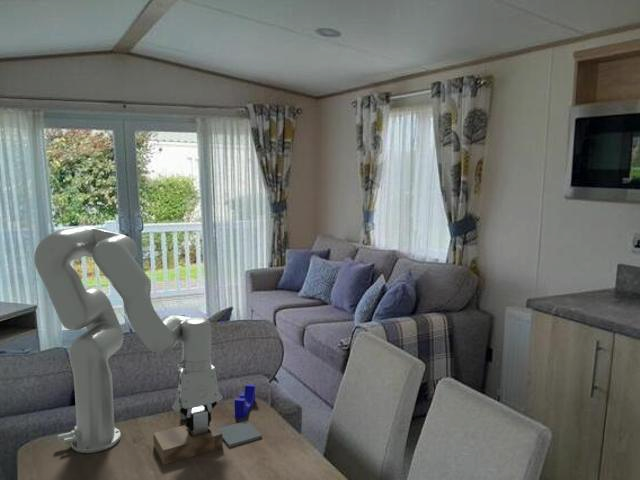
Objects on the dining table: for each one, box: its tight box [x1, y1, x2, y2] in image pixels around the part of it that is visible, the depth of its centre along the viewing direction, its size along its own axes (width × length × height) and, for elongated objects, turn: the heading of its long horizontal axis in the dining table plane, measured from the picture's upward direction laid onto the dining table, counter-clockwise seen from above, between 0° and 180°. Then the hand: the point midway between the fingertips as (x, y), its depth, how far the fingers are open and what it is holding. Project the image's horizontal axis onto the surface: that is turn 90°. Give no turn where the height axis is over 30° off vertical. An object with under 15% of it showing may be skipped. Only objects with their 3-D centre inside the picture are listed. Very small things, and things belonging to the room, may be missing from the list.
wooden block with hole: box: [153, 420, 223, 465], centre depth 137 cm, size 16×10×4 cm, turn 122°
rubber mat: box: [217, 420, 263, 448], centre depth 144 cm, size 10×10×1 cm
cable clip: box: [234, 383, 256, 419], centre depth 159 cm, size 12×4×6 cm, turn 171°
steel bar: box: [189, 406, 208, 438], centre depth 138 cm, size 4×4×10 cm
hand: (198, 426), depth 138 cm, fingers closed on steel bar, 4 cm apart
